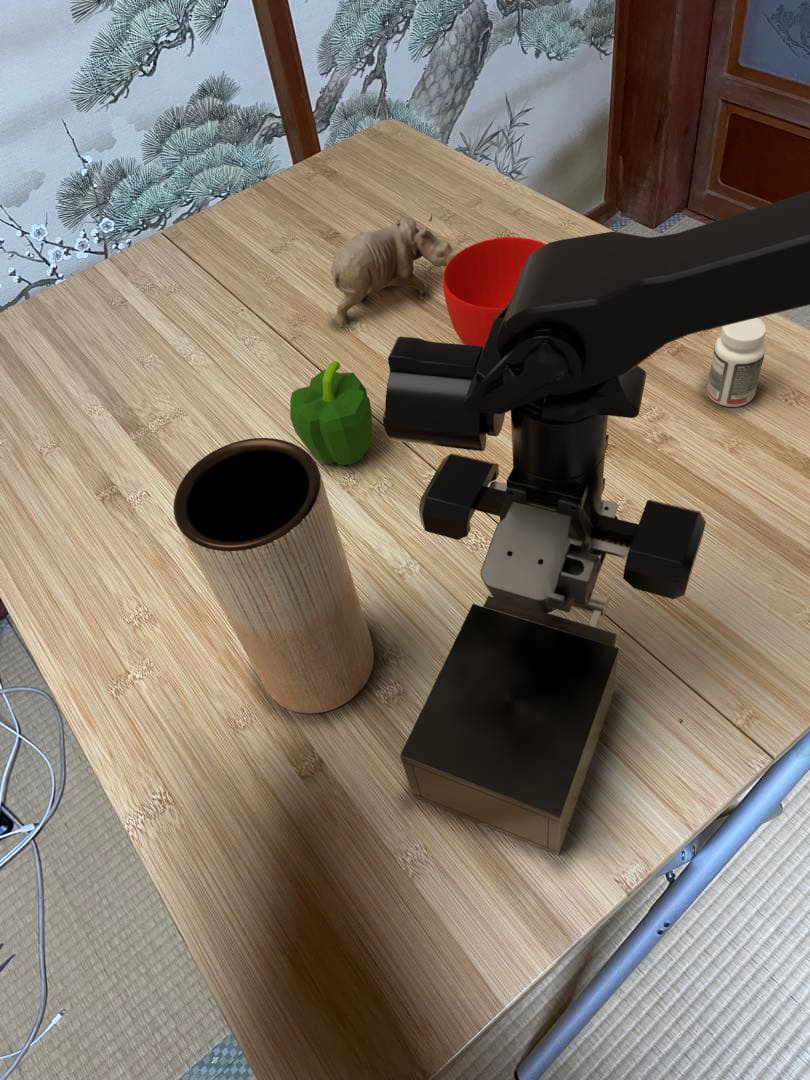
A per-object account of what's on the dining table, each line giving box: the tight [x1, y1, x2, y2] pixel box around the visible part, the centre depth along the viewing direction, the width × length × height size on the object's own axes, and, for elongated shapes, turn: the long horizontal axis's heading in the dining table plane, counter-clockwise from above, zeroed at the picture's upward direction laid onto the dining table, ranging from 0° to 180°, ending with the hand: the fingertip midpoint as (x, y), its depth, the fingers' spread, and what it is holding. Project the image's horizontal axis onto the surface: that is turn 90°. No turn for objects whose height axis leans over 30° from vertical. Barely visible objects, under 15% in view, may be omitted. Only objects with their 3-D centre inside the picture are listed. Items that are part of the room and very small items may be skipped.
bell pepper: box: [289, 360, 373, 466], centre depth 85 cm, size 8×8×10 cm
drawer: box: [482, 592, 618, 647], centre depth 65 cm, size 17×10×6 cm, turn 155°
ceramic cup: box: [442, 236, 547, 349], centre depth 92 cm, size 13×17×10 cm
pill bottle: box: [706, 318, 767, 408], centre depth 83 cm, size 5×5×8 cm
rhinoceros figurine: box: [330, 214, 461, 328], centre depth 101 cm, size 8×14×15 cm
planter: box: [172, 437, 375, 714], centre depth 64 cm, size 10×10×23 cm
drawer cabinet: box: [399, 603, 620, 856], centre depth 63 cm, size 14×12×8 cm
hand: (556, 590), depth 64 cm, fingers closed
